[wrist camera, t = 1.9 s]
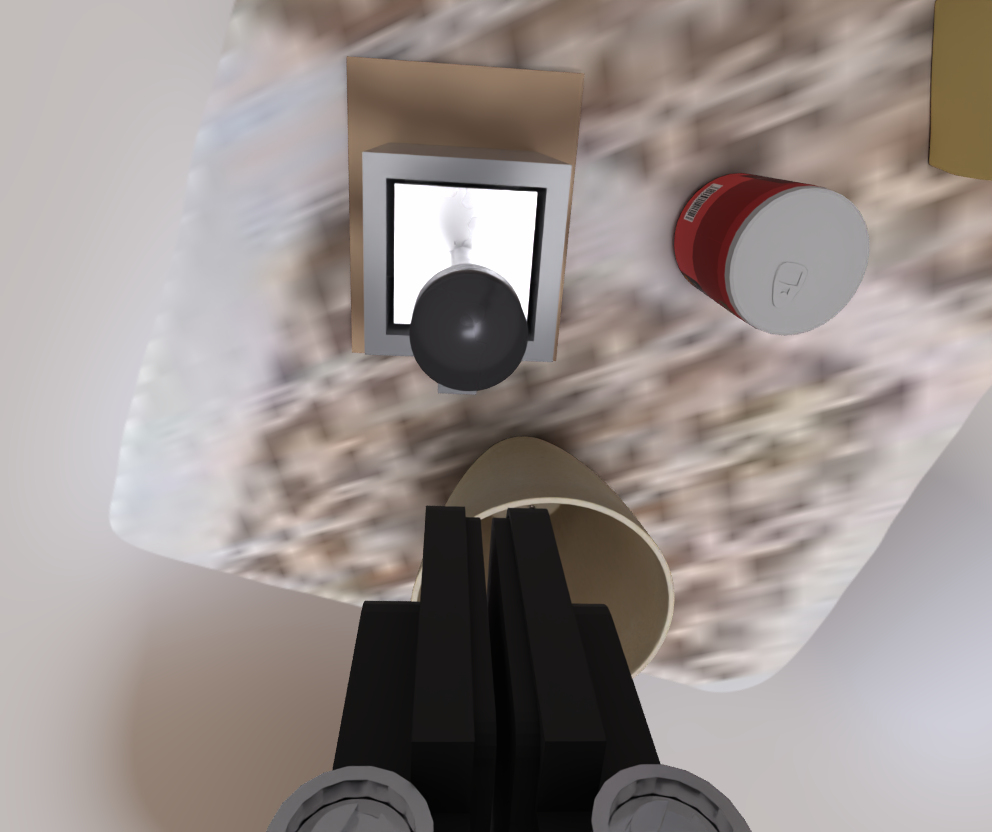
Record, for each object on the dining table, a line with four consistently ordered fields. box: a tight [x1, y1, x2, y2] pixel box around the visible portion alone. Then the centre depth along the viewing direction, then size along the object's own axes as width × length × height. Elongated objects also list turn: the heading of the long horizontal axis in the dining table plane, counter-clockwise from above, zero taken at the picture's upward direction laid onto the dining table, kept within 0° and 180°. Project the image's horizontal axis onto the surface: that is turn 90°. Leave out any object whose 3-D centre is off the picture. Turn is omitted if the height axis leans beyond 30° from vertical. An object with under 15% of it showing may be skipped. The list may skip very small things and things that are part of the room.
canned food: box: [674, 173, 869, 336], centre depth 42 cm, size 8×8×11 cm
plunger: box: [394, 182, 537, 391], centre depth 27 cm, size 6×6×13 cm
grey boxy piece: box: [362, 142, 572, 395], centre depth 39 cm, size 12×9×14 cm
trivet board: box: [347, 56, 584, 361], centre depth 45 cm, size 18×14×2 cm
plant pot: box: [411, 436, 674, 679], centre depth 47 cm, size 15×15×16 cm
